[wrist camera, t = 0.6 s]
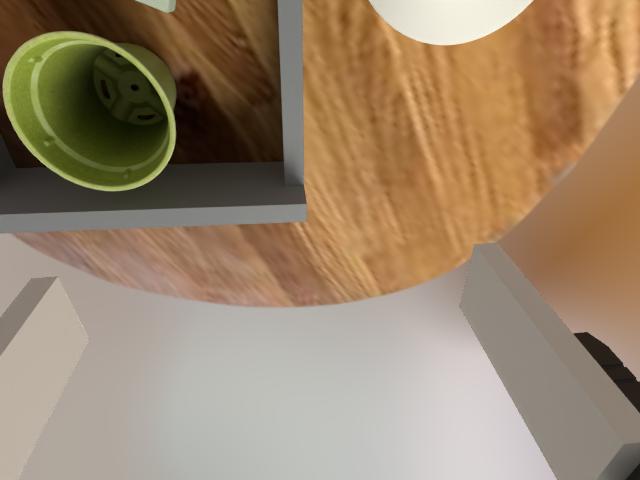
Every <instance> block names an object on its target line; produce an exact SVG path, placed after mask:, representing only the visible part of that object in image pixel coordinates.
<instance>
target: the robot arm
mask: <svg viewBox="0 0 640 480" xmlns="http://www.w3.org/2000/svg"><path fill="white" fill-rule="evenodd" d="M460 308H461V310H462V312H463V313H464V315H465V317H466V318H467V320H468V322H469V324H470V326H471V328H472V329H473V331H474V333H475V335H476V336H477V338H478V340H479V342H480V343H481V345H482V347H483V349H484V351H485V352H486V354H487V356H488V358H489V359H490V361H491V363H492V365H493V367H494V368H495V370H496V372H497V374H498V375H499V377H500V379H501V381H502V382H503V384H504V386H505V388H506V389H507V391H508V393H509V395H510V397H511V398H512V400H513V402H514V404H515V406H516V407H517V409H518V411H519V413H520V414H521V416H522V418H523V419H524V421H525V423H526V425H527V427H528V428H529V430H530V432H531V434H532V436H533V437H534V439H535V441H536V443H537V445H538V446H539V448H540V450H541V452H542V453H543V455H544V457H545V459H546V460H547V462H548V464H549V466H550V468H551V469H552V471H553V473H554V475H555V476H556V478H557V480H640V382H637V380H636V377H635V376H634V375H633V374H632V373H631V372H630V370H629V369H628V368H627V367H624V366H623V363H622V362H621V361H620V359H619V358H618V357H617V356H616V355H615V354H614V353H613V352H612V351H611V349H610V348H609V347H608V346H606V345H605V344H604V343H602V342H601V341H599V340H598V339H596V338H595V337H593V336H592V335H590V334H589V333H588V332H584V333H572V332H571V331H570V330H569V328H568V327H567V326H566V325H565V324H564V323H563V321H562V320H561V319H560V318H559V316H558V315H557V314H556V313H555V312H554V310H553V309H552V308H551V307H550V306H549V304H548V303H547V302H546V301H545V300H544V298H543V297H542V296H541V295H540V294H539V292H538V291H537V290H536V289H535V288H534V287H533V285H532V284H531V283H530V282H529V281H528V279H527V278H526V277H525V276H524V275H523V273H522V272H521V271H520V270H519V269H518V267H517V266H516V265H515V264H514V263H513V261H512V260H511V259H510V258H509V257H508V256H507V254H506V253H505V252H504V251H503V249H501V247H500V246H499V245H498V244H497V243H487V244H474V248H473V252H472V256H471V260H470V265H469V269H468V273H467V277H466V281H465V285H464V289H463V294H462V298H461V302H460ZM88 341H89V337H88V335H87V333H86V331H85V329H84V327H83V325H82V323H81V321H80V319H79V317H78V315H77V313H76V311H75V309H74V307H73V305H72V303H71V302H70V300H69V298H68V296H67V294H66V292H65V290H64V288H63V286H62V284H61V282H60V280H59V278H58V277H45V278H32V279H31V280H30V281H29V282H28V283H27V285H26V286H25V287H24V288H23V290H22V291H21V292H20V294H19V295H18V296H17V297H16V299H15V300H14V301H13V302H12V303H11V305H10V306H9V307H8V308H7V310H6V311H5V312H4V313H3V315H2V316H1V317H0V480H18V479H19V477H20V475H21V473H22V471H23V469H24V467H25V464H26V463H27V461H28V459H29V457H30V455H31V453H32V451H33V449H34V447H35V445H36V443H37V441H38V439H39V437H40V435H41V433H42V431H43V429H44V427H45V425H46V423H47V421H48V419H49V417H50V416H51V414H52V412H53V410H54V408H55V406H56V404H57V402H58V400H59V398H60V396H61V394H62V392H63V390H64V388H65V386H66V384H67V382H68V380H69V378H70V376H71V374H72V372H73V370H74V368H75V366H76V364H77V362H78V360H79V358H80V356H81V354H82V352H83V350H84V348H85V346H86V345H87V343H88Z"/></svg>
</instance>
